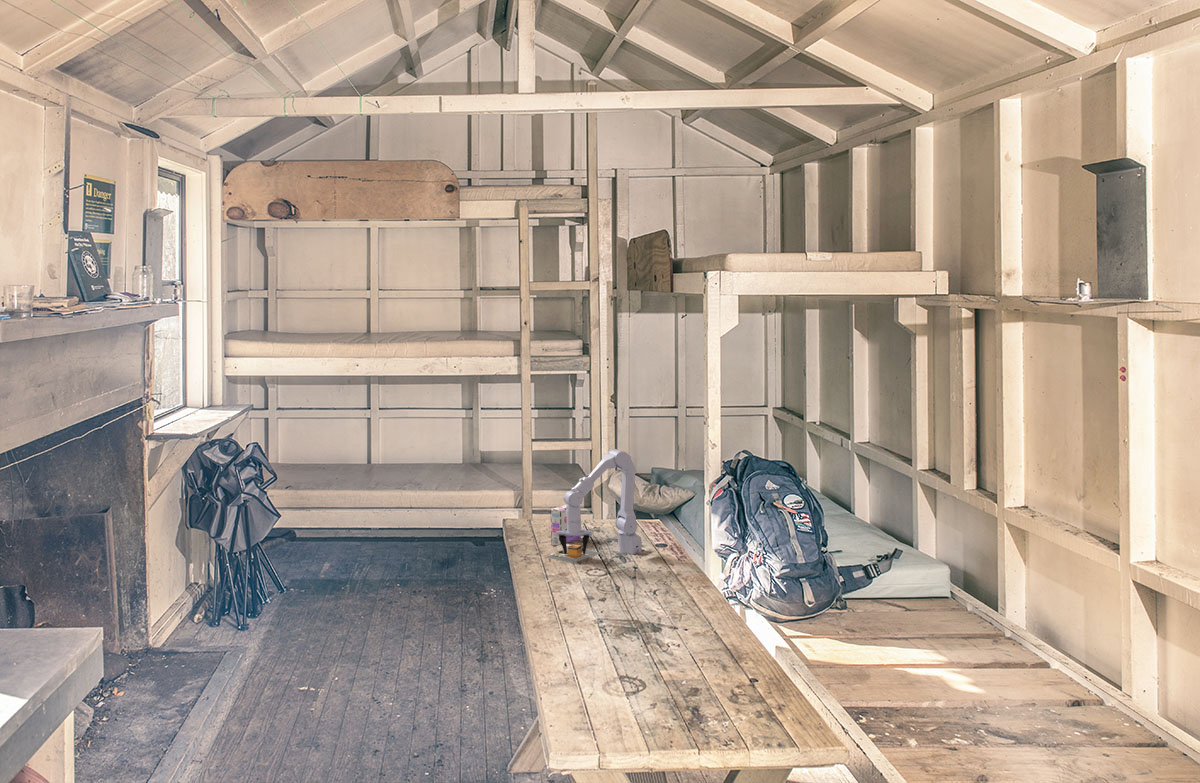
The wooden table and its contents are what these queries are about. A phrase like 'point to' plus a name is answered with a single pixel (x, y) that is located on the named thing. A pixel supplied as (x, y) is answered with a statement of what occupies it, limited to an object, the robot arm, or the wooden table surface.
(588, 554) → the breaker panel
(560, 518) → the candy box
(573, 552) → the cap
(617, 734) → the wooden table surface
